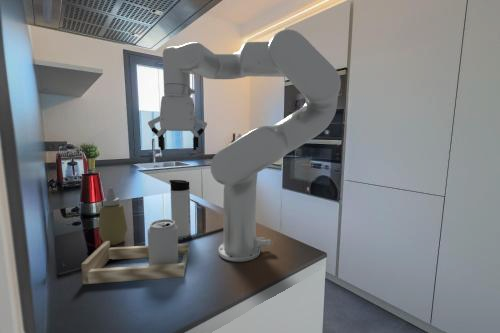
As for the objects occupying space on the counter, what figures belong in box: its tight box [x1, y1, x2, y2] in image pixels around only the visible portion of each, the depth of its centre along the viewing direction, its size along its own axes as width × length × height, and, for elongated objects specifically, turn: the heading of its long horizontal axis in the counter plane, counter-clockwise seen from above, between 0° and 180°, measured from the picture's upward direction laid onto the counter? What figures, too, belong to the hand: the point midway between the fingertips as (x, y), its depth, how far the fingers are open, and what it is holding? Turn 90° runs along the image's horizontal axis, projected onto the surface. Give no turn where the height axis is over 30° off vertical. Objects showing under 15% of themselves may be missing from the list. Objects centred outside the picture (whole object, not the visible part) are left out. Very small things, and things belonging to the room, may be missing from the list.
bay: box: [80, 241, 190, 285], centre depth 64 cm, size 23×12×5 cm, turn 98°
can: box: [147, 218, 180, 265], centre depth 65 cm, size 8×8×12 cm
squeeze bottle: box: [98, 187, 128, 246], centre depth 78 cm, size 8×8×18 cm
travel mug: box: [168, 179, 192, 240], centre depth 83 cm, size 6×7×20 cm
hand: (179, 150), depth 75 cm, fingers open, 9 cm apart
